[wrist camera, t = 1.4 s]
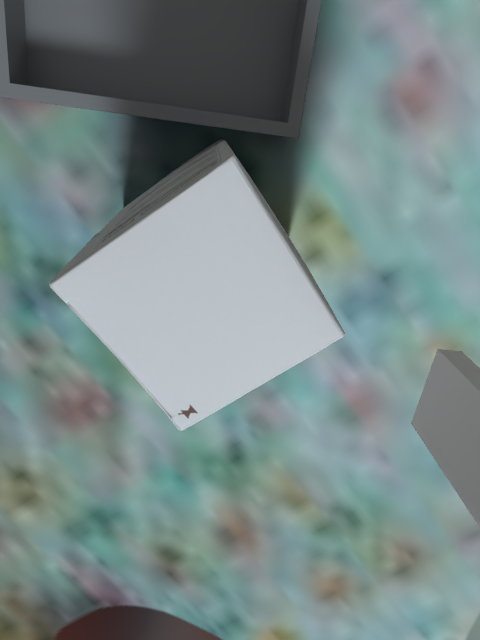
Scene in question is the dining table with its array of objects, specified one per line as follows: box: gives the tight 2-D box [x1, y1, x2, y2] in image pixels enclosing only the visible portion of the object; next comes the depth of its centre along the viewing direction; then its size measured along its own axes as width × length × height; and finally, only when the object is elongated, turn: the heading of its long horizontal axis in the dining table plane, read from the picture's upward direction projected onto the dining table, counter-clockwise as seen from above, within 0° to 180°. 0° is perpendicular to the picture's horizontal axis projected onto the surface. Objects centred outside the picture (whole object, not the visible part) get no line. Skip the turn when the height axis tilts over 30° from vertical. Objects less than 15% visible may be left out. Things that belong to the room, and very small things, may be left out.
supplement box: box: [49, 139, 345, 431], centre depth 26 cm, size 10×9×17 cm
